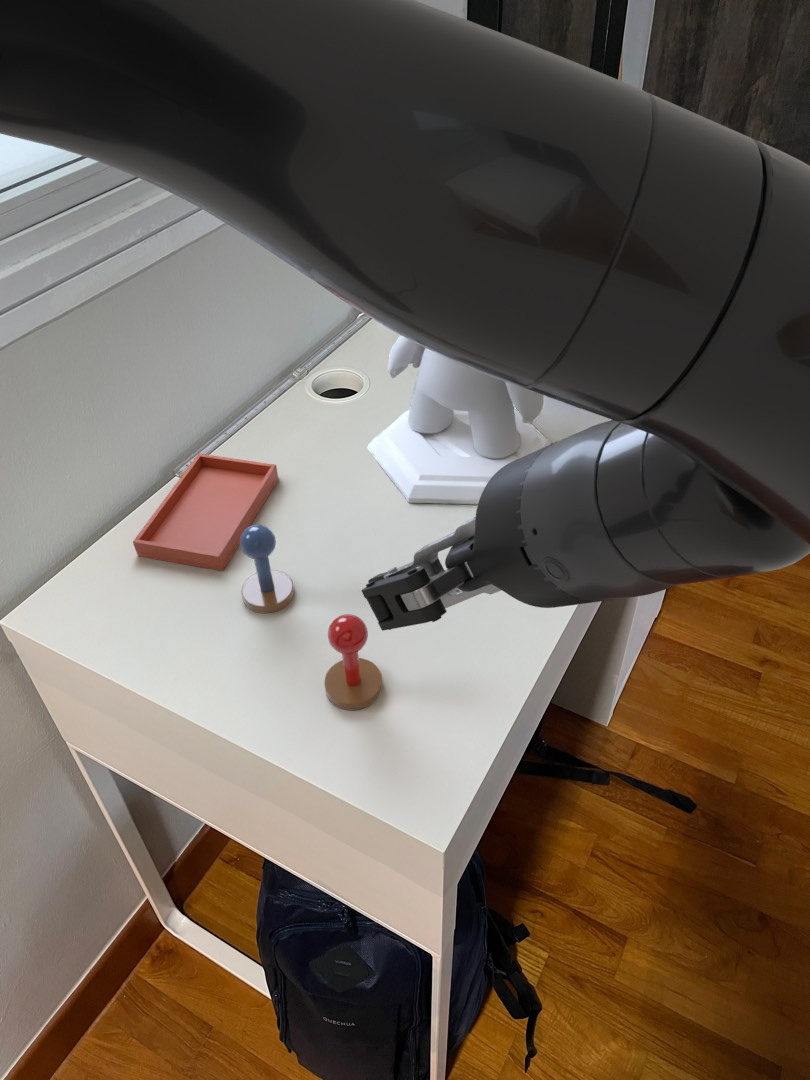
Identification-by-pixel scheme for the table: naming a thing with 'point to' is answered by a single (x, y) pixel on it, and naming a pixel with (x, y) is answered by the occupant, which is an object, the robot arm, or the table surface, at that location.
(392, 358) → the white toy figurine
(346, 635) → the arcade joystick
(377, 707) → the table surface
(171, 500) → the red tray
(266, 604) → the blue joystick
